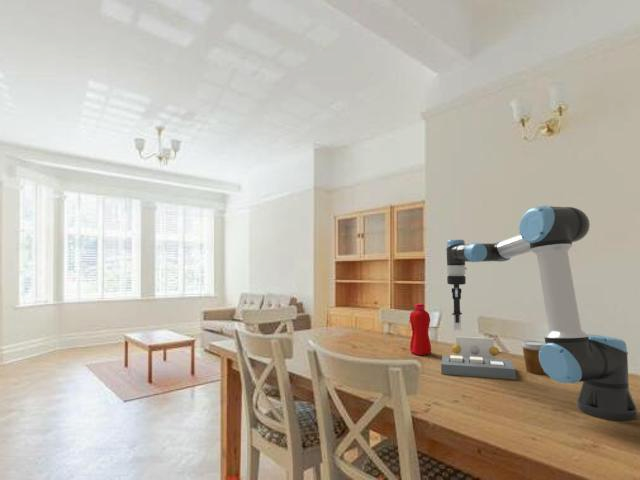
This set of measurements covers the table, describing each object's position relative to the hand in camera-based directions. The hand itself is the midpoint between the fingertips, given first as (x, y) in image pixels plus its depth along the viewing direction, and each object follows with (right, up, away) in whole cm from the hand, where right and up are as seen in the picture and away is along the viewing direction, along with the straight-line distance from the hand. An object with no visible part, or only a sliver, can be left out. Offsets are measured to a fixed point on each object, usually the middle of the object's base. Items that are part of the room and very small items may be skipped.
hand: (457, 329), depth 174 cm
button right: (+15, -16, -6) cm, 22 cm away
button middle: (+7, -14, -3) cm, 16 cm away
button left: (-1, -15, -1) cm, 15 cm away
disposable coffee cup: (+31, -17, -5) cm, 35 cm away
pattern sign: (+12, -17, +12) cm, 24 cm away
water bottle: (-9, -19, +29) cm, 36 cm away
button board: (+7, -17, -3) cm, 19 cm away
